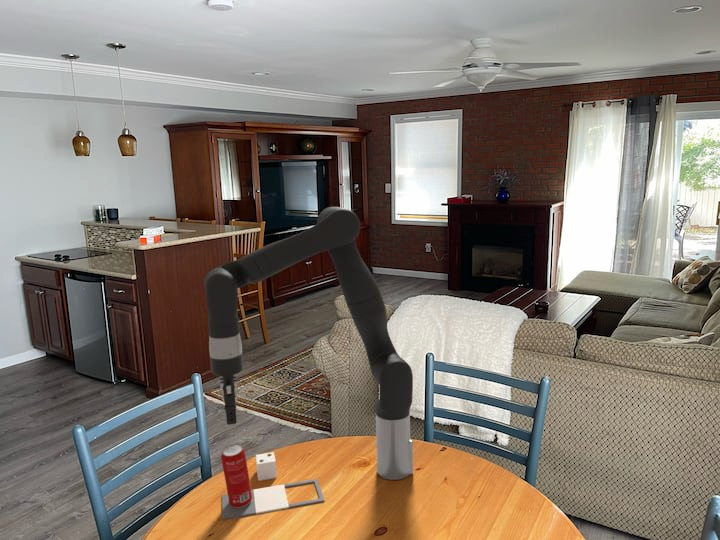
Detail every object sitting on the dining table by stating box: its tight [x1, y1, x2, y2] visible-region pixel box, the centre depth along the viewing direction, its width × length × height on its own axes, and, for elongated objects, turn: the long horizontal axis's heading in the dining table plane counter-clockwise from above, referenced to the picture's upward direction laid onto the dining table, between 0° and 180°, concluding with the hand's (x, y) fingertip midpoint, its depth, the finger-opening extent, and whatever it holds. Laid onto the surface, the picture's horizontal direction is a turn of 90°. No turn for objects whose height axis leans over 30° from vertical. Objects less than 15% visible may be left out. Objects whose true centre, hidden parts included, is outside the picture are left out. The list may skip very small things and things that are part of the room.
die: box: [255, 451, 277, 482], centre depth 147 cm, size 5×5×5 cm
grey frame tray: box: [221, 478, 325, 521], centre depth 136 cm, size 25×10×1 cm, turn 105°
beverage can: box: [220, 443, 252, 508], centre depth 132 cm, size 6×6×15 cm
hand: (231, 415), depth 129 cm, fingers open, 8 cm apart
